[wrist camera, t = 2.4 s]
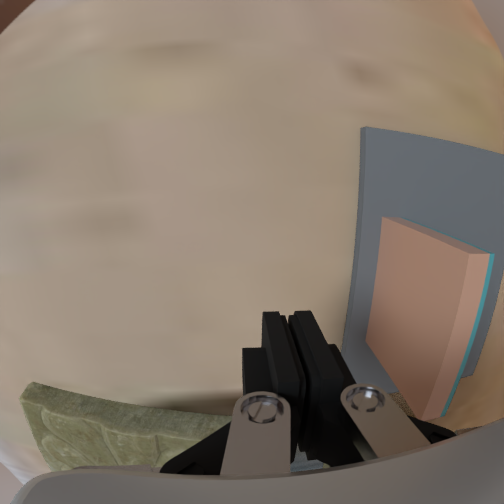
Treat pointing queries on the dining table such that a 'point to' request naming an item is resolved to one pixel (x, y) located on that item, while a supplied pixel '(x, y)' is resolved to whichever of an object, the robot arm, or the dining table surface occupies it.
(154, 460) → the decorative tile
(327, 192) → the dining table surface
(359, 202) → the rubber mat
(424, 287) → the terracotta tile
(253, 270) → the dining table surface
